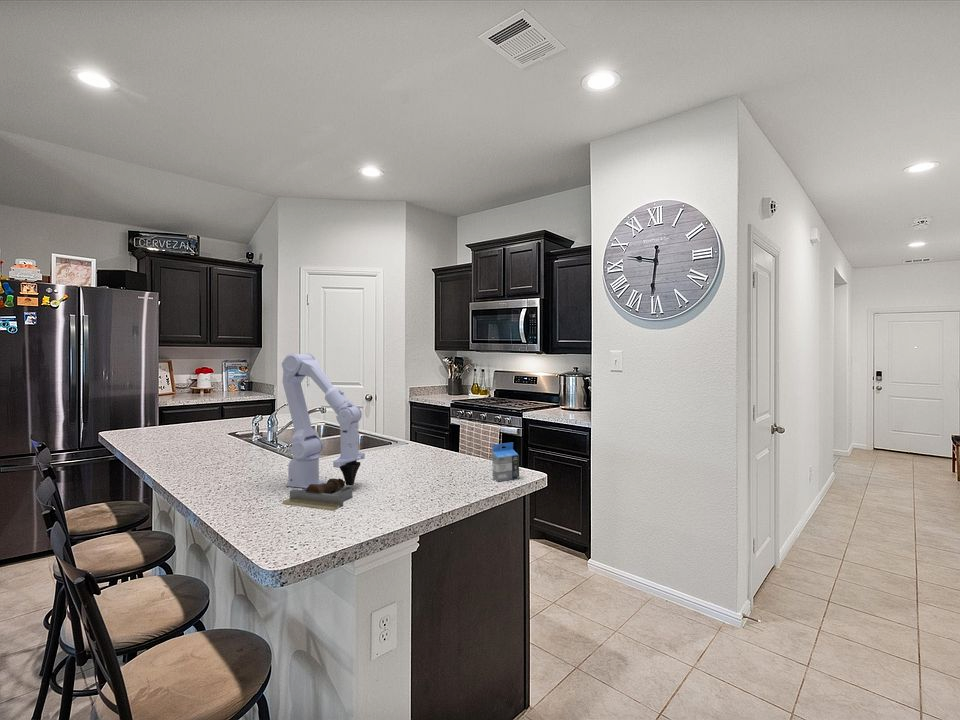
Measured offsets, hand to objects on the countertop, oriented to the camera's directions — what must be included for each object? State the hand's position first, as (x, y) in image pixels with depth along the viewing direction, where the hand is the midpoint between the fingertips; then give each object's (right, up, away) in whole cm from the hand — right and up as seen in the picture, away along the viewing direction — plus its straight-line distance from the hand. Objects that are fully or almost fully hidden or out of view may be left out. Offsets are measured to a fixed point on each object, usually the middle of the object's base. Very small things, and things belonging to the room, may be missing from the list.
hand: (349, 485), depth 164 cm
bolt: (-5, -2, -7) cm, 9 cm away
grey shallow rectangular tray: (-5, -1, -13) cm, 14 cm away
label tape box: (+51, -1, +12) cm, 53 cm away
